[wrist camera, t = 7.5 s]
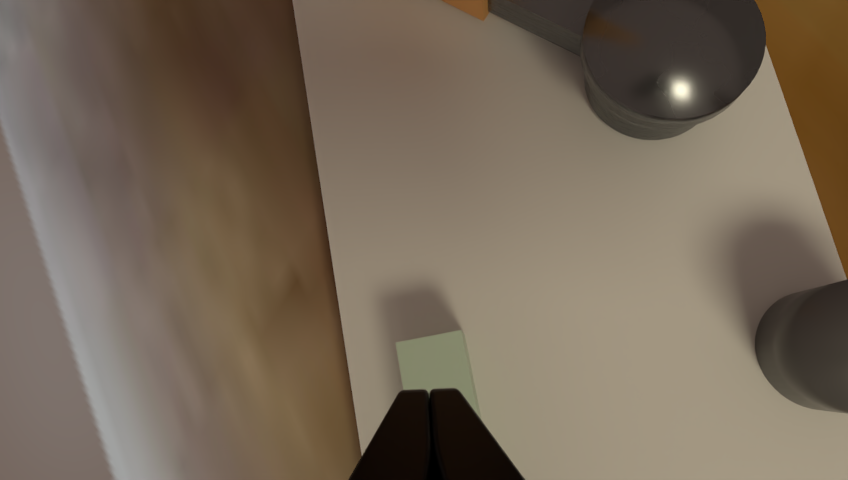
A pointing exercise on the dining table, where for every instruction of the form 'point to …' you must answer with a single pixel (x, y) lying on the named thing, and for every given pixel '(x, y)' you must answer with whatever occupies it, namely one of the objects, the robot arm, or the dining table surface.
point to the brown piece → (648, 54)
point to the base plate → (572, 255)
